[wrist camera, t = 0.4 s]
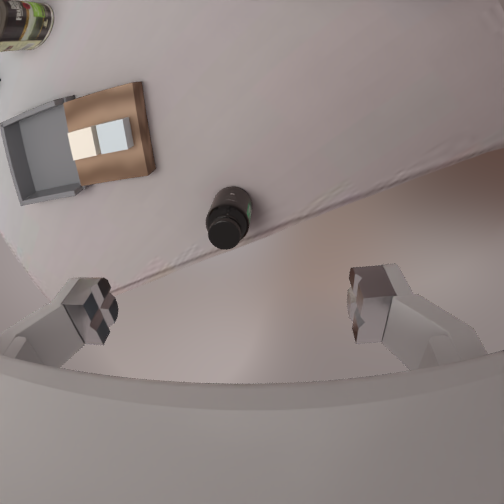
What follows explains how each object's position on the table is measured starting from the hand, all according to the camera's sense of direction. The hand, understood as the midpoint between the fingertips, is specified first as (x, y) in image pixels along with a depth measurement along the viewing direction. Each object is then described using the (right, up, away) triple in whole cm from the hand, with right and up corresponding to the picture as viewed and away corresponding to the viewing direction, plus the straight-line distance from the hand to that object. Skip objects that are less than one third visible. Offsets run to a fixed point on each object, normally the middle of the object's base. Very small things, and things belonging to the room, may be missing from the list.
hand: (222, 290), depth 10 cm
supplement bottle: (-2, +10, +47) cm, 48 cm away
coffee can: (-41, +45, +28) cm, 67 cm away
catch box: (-39, +22, +42) cm, 61 cm away
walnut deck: (-24, +22, +40) cm, 52 cm away
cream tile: (-27, +20, +37) cm, 50 cm away
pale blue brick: (-21, +21, +37) cm, 47 cm away
